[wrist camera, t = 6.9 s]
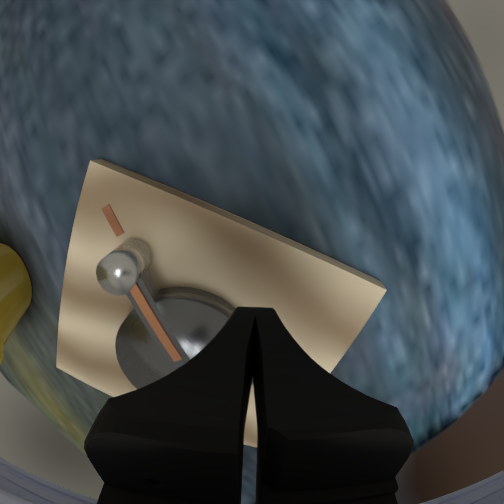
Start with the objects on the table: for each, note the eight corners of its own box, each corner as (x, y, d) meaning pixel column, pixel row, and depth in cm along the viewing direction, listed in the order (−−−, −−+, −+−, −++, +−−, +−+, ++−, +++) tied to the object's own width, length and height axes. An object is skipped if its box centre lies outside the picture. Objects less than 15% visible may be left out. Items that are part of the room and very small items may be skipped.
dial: (276, 375, 21) (278, 408, 18) (167, 402, 22) (158, 432, 19) (193, 208, 17) (178, 222, 14) (76, 265, 18) (50, 285, 15)
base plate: (265, 437, 26) (265, 450, 24) (63, 357, 23) (55, 367, 22) (379, 280, 20) (387, 290, 19) (101, 159, 18) (89, 160, 16)
